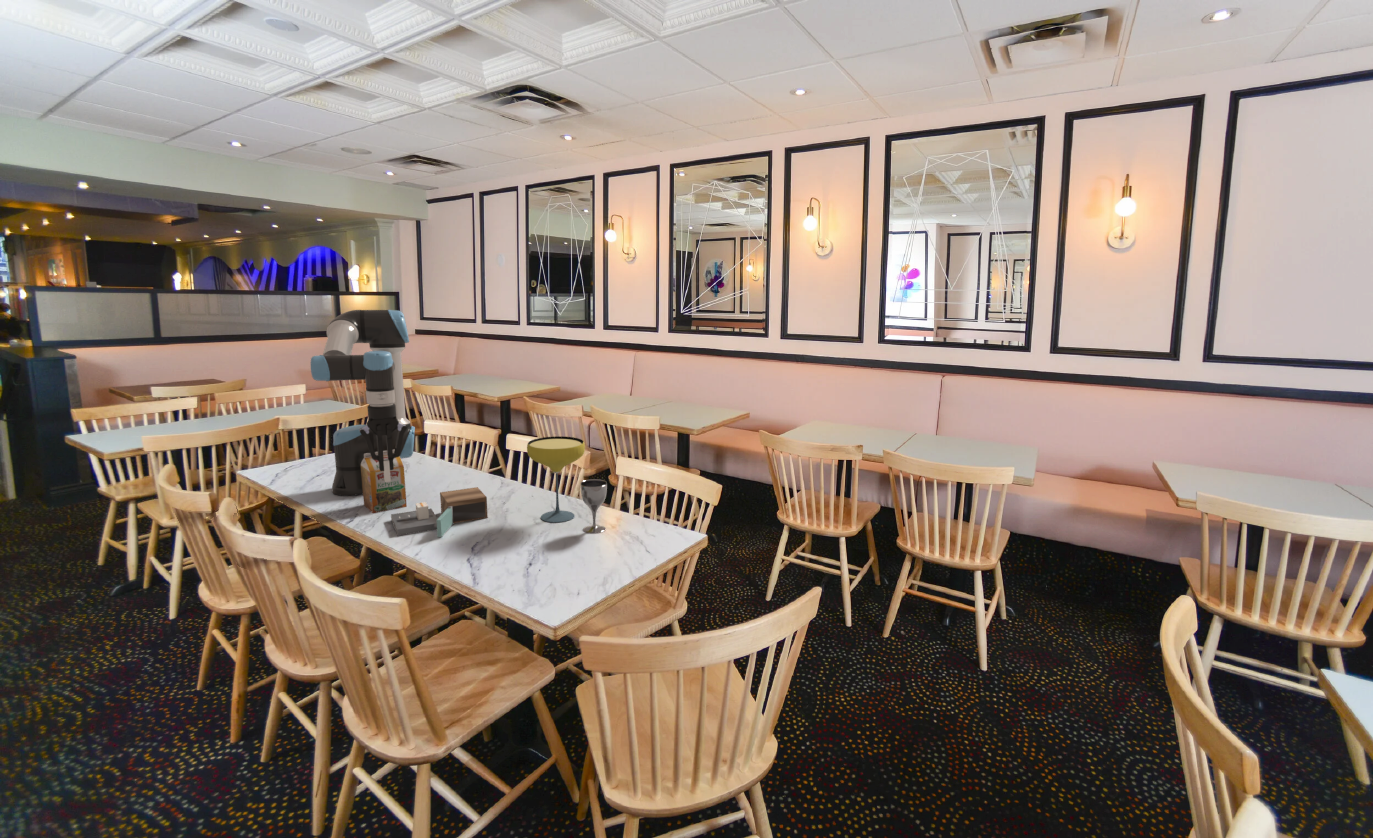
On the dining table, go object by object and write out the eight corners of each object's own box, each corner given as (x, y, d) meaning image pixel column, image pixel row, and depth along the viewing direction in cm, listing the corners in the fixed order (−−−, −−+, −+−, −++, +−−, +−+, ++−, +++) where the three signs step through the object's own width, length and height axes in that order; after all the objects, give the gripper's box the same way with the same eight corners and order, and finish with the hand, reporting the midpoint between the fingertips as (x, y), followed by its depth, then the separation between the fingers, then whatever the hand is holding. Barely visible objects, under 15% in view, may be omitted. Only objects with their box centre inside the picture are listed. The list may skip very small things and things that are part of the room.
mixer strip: (391, 520, 199) (390, 514, 198) (431, 514, 205) (431, 508, 205) (397, 536, 186) (397, 529, 186) (440, 528, 193) (440, 522, 192)
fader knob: (416, 515, 197) (415, 502, 197) (426, 514, 199) (425, 501, 198) (418, 520, 194) (417, 507, 193) (428, 518, 195) (428, 505, 195)
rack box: (441, 512, 207) (440, 492, 205) (478, 506, 213) (477, 487, 211) (448, 524, 197) (447, 502, 195) (487, 517, 203) (486, 497, 201)
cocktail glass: (596, 513, 209) (595, 440, 204) (564, 530, 193) (562, 451, 188) (552, 504, 217) (550, 434, 212) (517, 521, 200) (514, 444, 196)
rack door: (453, 523, 197) (452, 506, 196) (442, 537, 185) (440, 519, 184) (445, 523, 197) (444, 506, 196) (433, 537, 185) (432, 519, 184)
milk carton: (373, 513, 205) (368, 457, 201) (364, 505, 213) (359, 450, 209) (406, 506, 212) (402, 452, 208) (396, 498, 220) (392, 446, 216)
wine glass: (611, 526, 197) (611, 480, 194) (600, 535, 190) (599, 488, 187) (588, 523, 199) (588, 478, 197) (576, 532, 192) (575, 485, 189)
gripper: (357, 408, 178) (364, 487, 183) (407, 404, 185) (412, 481, 190) (355, 403, 184) (362, 480, 189) (403, 400, 191) (408, 474, 196)
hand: (387, 480), depth 190 cm, fingers closed
